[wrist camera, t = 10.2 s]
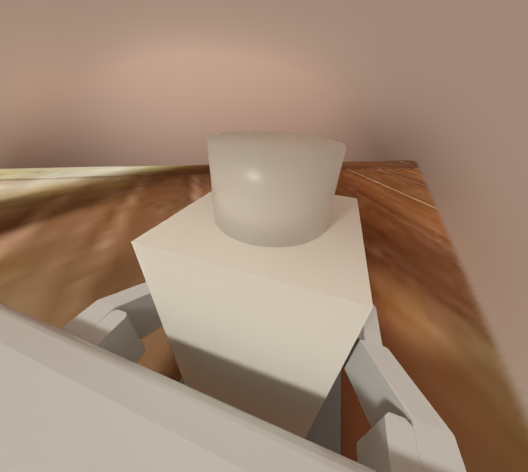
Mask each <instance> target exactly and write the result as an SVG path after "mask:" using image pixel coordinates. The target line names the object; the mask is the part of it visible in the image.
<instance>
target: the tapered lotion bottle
mask: <svg viewBox="0 0 528 472" xmlns="http://www.w3.org/2000/svg"><path fill="white" fill-rule="evenodd" d="M207 144H208V156H209V166H210V176H211V186H212V191H211V192H210V193H208V194H206V195H205V196H203V197H202V198H200V199H198V200H197V201H195V202H194V203H192V204H190V205H189V206H187V207H186V208H184V209H183V210H181V211H179V212H178V213H176V214H175V215H173V216H171V217H170V218H168V219H167V220H165V221H163V222H162V223H160V224H159V225H157V226H156V227H154V228H152V229H151V230H149V231H148V232H146V233H144V234H143V235H141V236H140V237H138V238H136V239H135V240H133V241H132V242H131V243H132V245H133V248H134V251H135V253H136V256H137V259H138V261H139V264H140V267H141V269H142V272H143V275H144V277H145V280H146V282H147V285H148V288H149V290H150V293H151V296H152V298H153V301H154V304H155V306H156V309H157V312H158V314H159V317H160V320H161V322H162V325H163V328H164V330H165V333H166V336H167V338H168V341H169V343H170V346H171V349H172V351H173V354H174V357H175V359H176V362H177V365H178V367H179V370H180V373H181V375H182V378H183V381H184V383H185V385H186V386H188V387H190V388H193V389H195V390H197V391H199V392H202V393H204V394H206V395H208V396H211V397H213V398H215V399H217V400H219V401H222V402H224V403H226V404H228V405H231V406H233V407H235V408H237V409H240V410H242V411H244V412H246V413H248V414H251V415H253V416H255V417H257V418H260V419H262V420H264V421H266V422H269V423H271V424H273V425H275V426H277V427H280V428H282V429H284V430H286V431H289V432H291V433H293V434H295V435H298V436H300V437H302V438H304V439H305V437H306V436H307V434H308V432H309V430H310V428H311V426H312V424H313V422H314V420H315V418H316V416H317V414H318V412H319V411H320V409H321V407H322V405H323V403H324V401H325V399H326V397H327V395H328V393H329V391H330V389H331V387H332V385H333V384H334V382H335V380H336V378H337V376H338V374H339V372H340V370H341V368H342V366H343V364H344V362H345V360H346V359H347V357H348V355H349V353H350V351H351V349H352V347H353V345H354V343H355V341H356V339H357V337H358V335H359V334H360V332H361V330H362V328H363V326H364V324H365V322H366V320H367V318H368V316H369V314H370V312H371V310H372V308H373V303H372V296H371V289H370V283H369V276H368V269H367V262H366V256H365V249H364V242H363V235H362V229H361V222H360V215H359V208H358V202H357V198H352V197H345V196H339V195H335V191H336V187H337V183H338V179H339V175H340V170H341V166H342V162H343V158H344V154H345V150H346V145H345V144H343V143H341V142H338V141H335V140H331V139H328V138H323V137H317V136H310V135H303V134H293V133H281V132H228V133H220V134H215V135H211V136H209V137H208V138H207Z"/></svg>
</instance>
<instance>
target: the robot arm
mask: <svg viewBox="0 0 528 472" xmlns="http://www.w3.org/2000/svg"><path fill="white" fill-rule="evenodd" d="M161 326H163V325H162V322H161V320H160V317H159V314H158V312H157V309H156V306H155V304H154V301H153V298H152V296H151V293H150V290H149V288H148V285H147V282H145V283H142V284H140V285H137V286H134V287H132V288H129V289H126V290H123V291H121V292H118V293H115V294H113V295H110V296H107V297H105V298H102V299H99V300H97V301H96V302H94V303H93V304H92V305H91V306H89V307H88V308H87V309H85V310H84V311H83V312H82V313H80V314H79V315H78V316H76V317H75V318H74V319H73V320H71V321H70V322H69V323H67V324H66V325H65V326H64V327H62V328H61V329H59V328H57V327H54V326H52V325H50V324H48V323H45V322H43V321H41V320H39V319H36V318H34V317H32V316H30V315H28V314H25V313H23V312H21V311H19V310H16V309H14V308H12V307H10V306H7V305H5V304H3V303H1V302H0V472H466V469H465V466H464V463H463V460H462V457H461V454H460V451H459V448H458V445H457V442H456V439H455V436H454V434H453V433H452V432H451V431H450V429H449V428H448V427H447V425H446V424H445V423H444V421H443V420H442V419H441V417H440V416H439V415H438V413H437V412H436V411H435V410H434V408H433V407H432V406H431V404H430V403H429V402H428V400H427V399H426V398H425V396H424V395H423V394H422V392H421V391H420V390H419V389H418V387H417V386H416V385H415V383H414V382H413V381H412V379H411V378H410V377H409V375H408V374H407V373H406V371H405V370H404V369H403V368H402V366H401V365H400V364H399V362H398V361H397V360H396V358H395V357H394V356H393V354H392V353H391V352H390V350H389V349H388V348H386V347H384V346H383V345H382V339H381V333H380V327H379V322H378V316H377V310H376V307H375V305H373V308H372V310H371V312H370V314H369V316H368V318H367V320H366V322H365V324H364V326H363V328H362V330H361V332H360V334H359V335H358V337H357V339H356V341H355V343H354V345H353V347H352V349H351V351H350V353H349V355H348V357H347V359H346V360H345V362H344V364H343V367H345V368H344V369H345V371H346V373H347V375H348V378H349V380H350V382H351V384H352V386H353V389H354V391H355V393H356V395H357V397H358V400H359V402H360V404H361V406H362V408H363V411H364V413H365V415H366V417H367V419H368V422H369V424H370V426H371V429H370V430H369V431H368V432H367V433H366V434H365V435H364V436H363V437H362V438H361V439H360V440H358V441H357V462H356V461H353V460H351V459H349V458H347V457H344V456H342V455H340V454H338V453H336V452H333V451H331V450H329V449H327V448H324V447H322V446H320V445H318V444H315V443H313V442H311V441H309V440H306V439H304V438H302V437H300V436H298V435H295V434H293V433H291V432H289V431H286V430H284V429H282V428H280V427H277V426H275V425H273V424H271V423H269V422H266V421H264V420H262V419H260V418H257V417H255V416H253V415H251V414H248V413H246V412H244V411H242V410H240V409H237V408H235V407H233V406H231V405H228V404H226V403H224V402H222V401H219V400H217V399H215V398H213V397H211V396H208V395H206V394H204V393H202V392H199V391H197V390H195V389H193V388H190V387H188V386H186V385H184V384H182V383H179V382H177V381H175V380H173V379H170V378H168V377H166V376H164V375H161V374H159V373H157V372H155V371H153V370H150V369H148V368H146V367H144V366H141V365H139V364H137V361H138V360H139V359H140V358H141V356H142V355H143V354H144V353H145V348H144V346H143V344H142V342H141V340H140V339H142V338H144V337H145V336H147V335H148V334H150V333H152V332H153V331H155V330H157V329H158V328H160V327H161Z"/></svg>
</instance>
